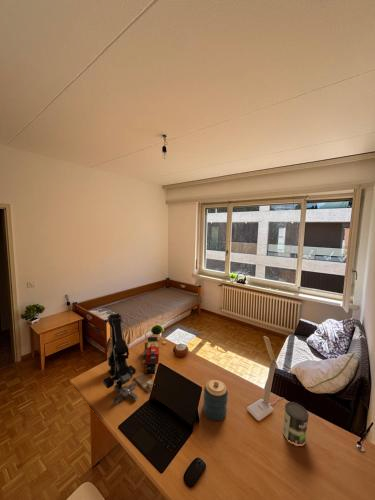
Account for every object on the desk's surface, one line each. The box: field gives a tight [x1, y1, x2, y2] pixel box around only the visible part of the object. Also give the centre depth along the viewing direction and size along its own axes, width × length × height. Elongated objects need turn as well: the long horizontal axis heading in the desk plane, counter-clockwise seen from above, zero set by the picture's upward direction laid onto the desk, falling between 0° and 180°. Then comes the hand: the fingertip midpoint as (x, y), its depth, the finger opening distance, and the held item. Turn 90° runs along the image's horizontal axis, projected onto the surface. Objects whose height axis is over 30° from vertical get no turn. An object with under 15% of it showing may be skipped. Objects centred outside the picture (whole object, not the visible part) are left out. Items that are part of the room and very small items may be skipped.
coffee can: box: [282, 401, 310, 444], centre depth 102 cm, size 10×10×14 cm
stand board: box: [133, 372, 154, 394], centre depth 132 cm, size 16×6×4 cm, turn 47°
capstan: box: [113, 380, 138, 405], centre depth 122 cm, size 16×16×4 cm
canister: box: [202, 379, 229, 422], centre depth 114 cm, size 13×13×18 cm
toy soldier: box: [141, 336, 160, 377], centre depth 152 cm, size 14×12×30 cm
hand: (119, 388), depth 125 cm, fingers closed, pressing on capstan
